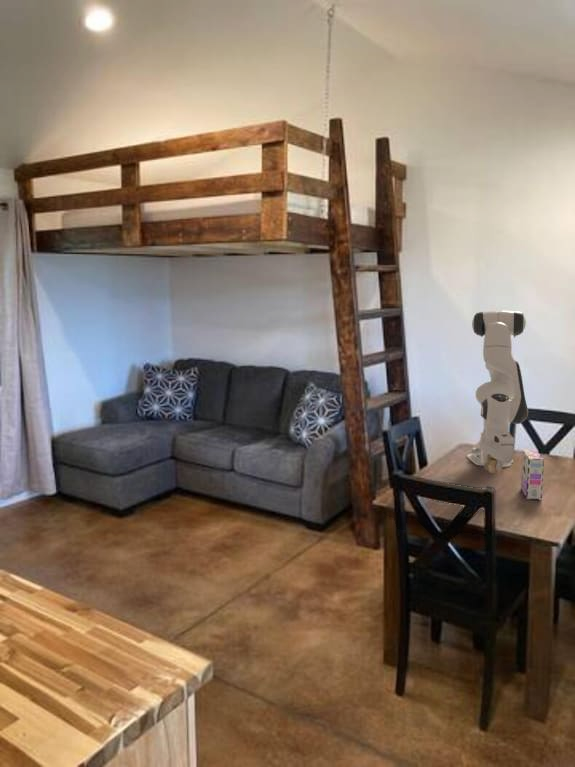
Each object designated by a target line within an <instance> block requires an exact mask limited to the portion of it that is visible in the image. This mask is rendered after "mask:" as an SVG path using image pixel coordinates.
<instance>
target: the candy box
mask: <svg viewBox="0 0 575 767" xmlns="http://www.w3.org/2000/svg"><path fill="white" fill-rule="evenodd" d="M521 453H522V455H521V456H522V457H521V478H520V479H521V481H520V482H521V483H520V490H521V492H522V493H523V495H524V497H525V499H526V500H531V501H533V500H534V501H542V498H543V480H544V462H545V459H544V458H543V456H542V455H541V454H540V453H539V451H538V450H533V449H532V450H531V449H530V450H529V449H522V452H521Z"/></svg>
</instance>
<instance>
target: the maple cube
mask: <svg viewBox="0 0 575 767" xmlns="http://www.w3.org/2000/svg"><path fill="white" fill-rule="evenodd" d="M495 465H497V459H495V458H494V457H485V466H484V470H486V471H487V472H488V473H489V474H493V473H495V474H496V473H498V474H499V473H503V467H502V465H503V464H502V465H501V469H500V470H497V469H495Z"/></svg>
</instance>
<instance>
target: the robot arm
mask: <svg viewBox="0 0 575 767" xmlns="http://www.w3.org/2000/svg"><path fill="white" fill-rule="evenodd" d="M526 321H527V320H526V317H525V316H524V313H523V312H522V311H518V310H514V311H511V310H496V311H495V310H494V311H485V312H484V311H480V312H477V313H475V315H473V318H472V321H471V327H472V330H473V333H474V334H476V335H477V336H479V337H481V338H483V336H484V338H483V349H482V350H483V351H482V353H483V354H482V355H483V361H484V363H485V368H486V370H487V371H488V373H489V376H490V381H487V382H484V383H483V384H481V385H480V386H478V387H477V388H476V391H475V399H476V401H477V403H479V404H480V407H481V409H480V416H481V417H482V418H483V430H482V432H481V433H480V440H479V441H477V442H476V443H475V444H473V446H472V449H471V453H468V454H467V455H466V458H467V459H468V460H469V461H471V462H472V463H473V464H475V466H480V467H485V457H494V458H495V459H497V465H495V469H497V470H500V469H501V465H502V464H503V465H502V468H508V467H511V465H512V464H513V463H514V460H513V458H514V446H513V445H514V444H515V442H516V440H515V438H514V437H513V435H512V433H511V432H510V424H517V425H519V424H522V423H523V422H525V421H526V420H527V419H528V415H529V409H528V405H527V404H528V403H527V400H526V395H525V389H524V384H523V375H522V371H521V367H520V364H519V362H518V361H516V360H515V359H514V357H513V355H512V347H513V346H512V337H511V336H513V338H516V337H517V336H520V335H521V334H522V333H524V330H525V329H526V326H527V324H526V323H527V322H526Z"/></svg>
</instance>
